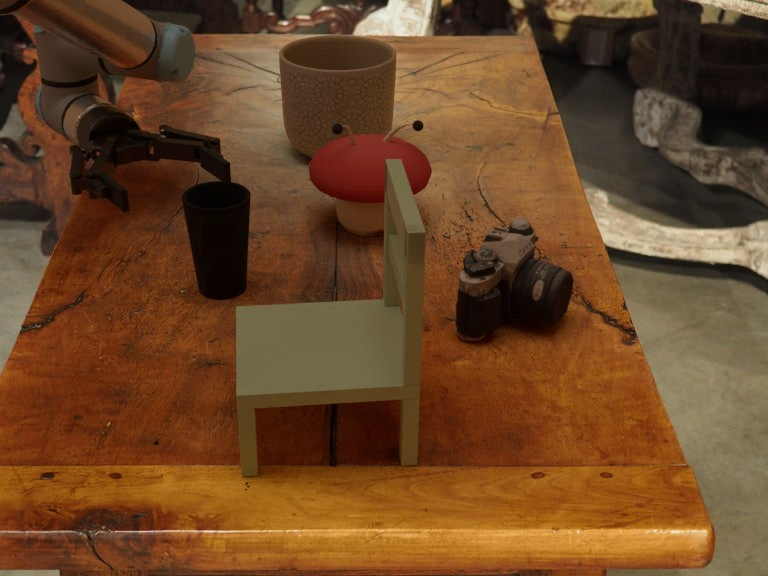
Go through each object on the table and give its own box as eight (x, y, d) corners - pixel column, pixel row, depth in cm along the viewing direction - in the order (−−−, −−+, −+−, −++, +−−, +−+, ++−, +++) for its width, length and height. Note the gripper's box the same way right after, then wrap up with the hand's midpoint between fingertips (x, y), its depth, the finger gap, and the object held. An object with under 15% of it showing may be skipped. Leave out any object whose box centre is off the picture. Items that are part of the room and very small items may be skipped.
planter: (317, 182, 152) (315, 78, 144) (262, 143, 164) (258, 45, 157) (416, 158, 160) (419, 58, 152) (357, 122, 172) (357, 28, 165)
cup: (251, 269, 130) (247, 178, 124) (259, 300, 123) (254, 206, 117) (187, 275, 128) (179, 183, 122) (191, 307, 122) (183, 212, 116)
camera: (531, 364, 113) (539, 281, 108) (444, 337, 117) (448, 256, 112) (584, 299, 125) (594, 222, 120) (503, 276, 129) (510, 201, 124)
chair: (241, 477, 96) (225, 240, 84) (240, 381, 109) (226, 164, 97) (417, 465, 98) (426, 231, 86) (396, 372, 111) (401, 158, 99)
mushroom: (324, 258, 132) (322, 145, 125) (298, 204, 146) (295, 99, 138) (445, 244, 136) (450, 133, 129) (409, 193, 149) (412, 90, 142)
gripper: (189, 137, 151) (268, 189, 136) (15, 180, 138) (83, 243, 123) (185, 86, 147) (266, 134, 133) (6, 125, 134) (74, 183, 119)
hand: (178, 187), depth 128 cm, fingers open, 13 cm apart
